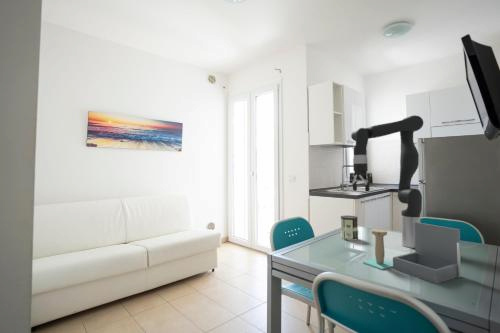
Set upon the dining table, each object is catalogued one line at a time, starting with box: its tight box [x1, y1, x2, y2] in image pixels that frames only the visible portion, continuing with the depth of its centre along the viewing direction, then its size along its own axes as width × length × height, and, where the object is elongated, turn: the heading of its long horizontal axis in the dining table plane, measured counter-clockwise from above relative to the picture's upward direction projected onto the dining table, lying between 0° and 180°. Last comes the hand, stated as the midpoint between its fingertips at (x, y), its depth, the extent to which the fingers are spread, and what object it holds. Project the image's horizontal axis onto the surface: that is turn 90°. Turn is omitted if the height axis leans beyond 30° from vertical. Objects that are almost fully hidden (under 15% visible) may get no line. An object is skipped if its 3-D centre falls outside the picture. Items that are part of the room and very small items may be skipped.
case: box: [392, 222, 462, 284], centre depth 111 cm, size 17×19×19 cm
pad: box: [362, 258, 393, 271], centre depth 121 cm, size 10×10×1 cm
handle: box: [371, 229, 388, 264], centre depth 121 cm, size 5×6×15 cm
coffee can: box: [340, 215, 359, 241], centre depth 168 cm, size 10×10×14 cm
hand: (360, 191), depth 150 cm, fingers open, 8 cm apart
